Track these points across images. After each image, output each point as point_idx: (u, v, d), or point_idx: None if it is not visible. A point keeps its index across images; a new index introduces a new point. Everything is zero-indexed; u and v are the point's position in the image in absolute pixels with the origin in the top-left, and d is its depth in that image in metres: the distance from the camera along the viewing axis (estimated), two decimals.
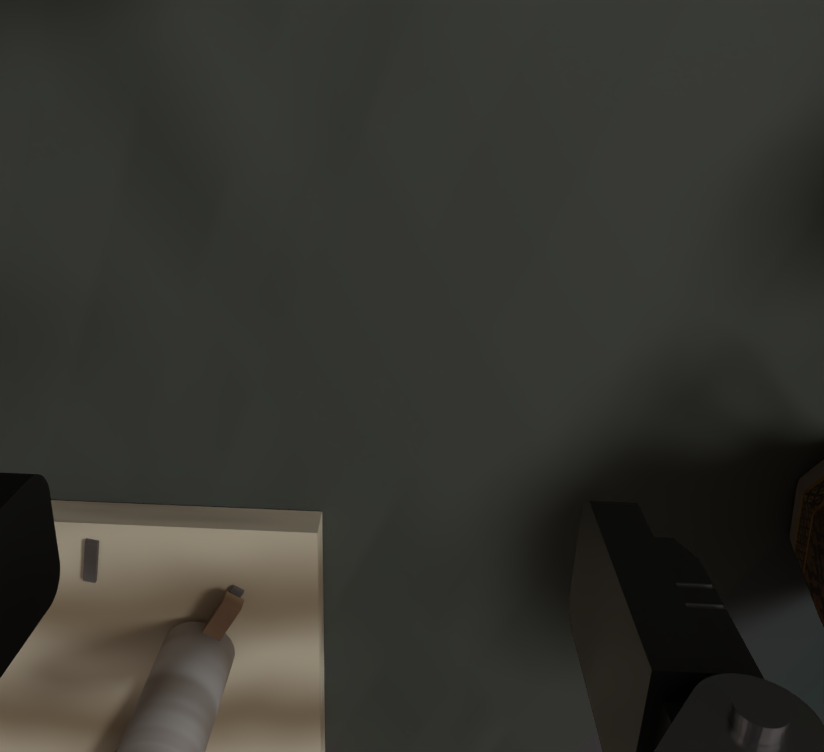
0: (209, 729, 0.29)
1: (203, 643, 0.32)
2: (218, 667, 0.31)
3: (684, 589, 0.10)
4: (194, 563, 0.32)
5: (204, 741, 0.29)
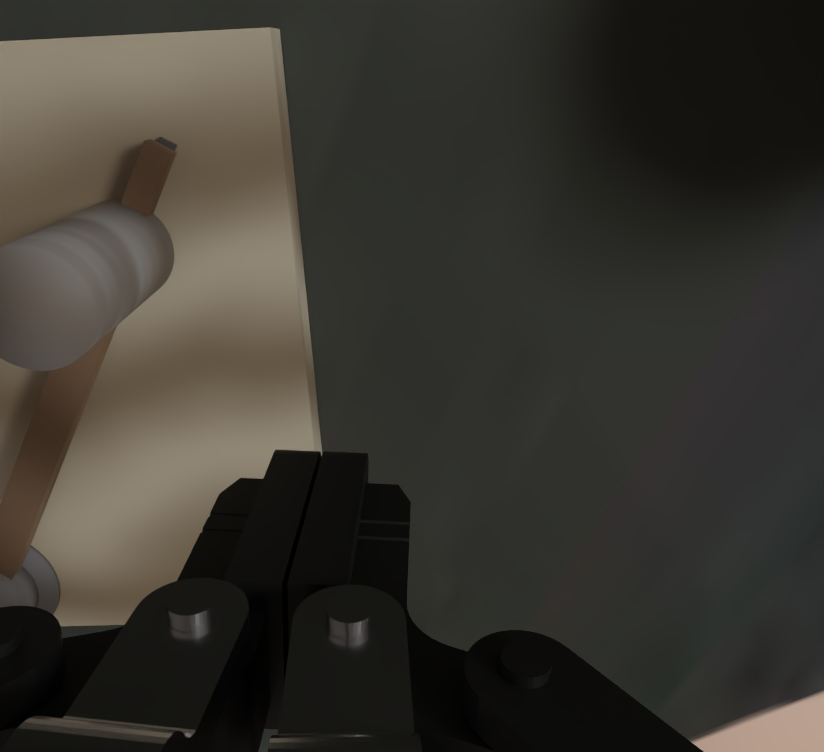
0: (123, 281, 0.20)
1: (121, 209, 0.22)
2: (143, 234, 0.22)
3: (381, 525, 0.11)
4: (101, 102, 0.22)
5: (112, 283, 0.19)
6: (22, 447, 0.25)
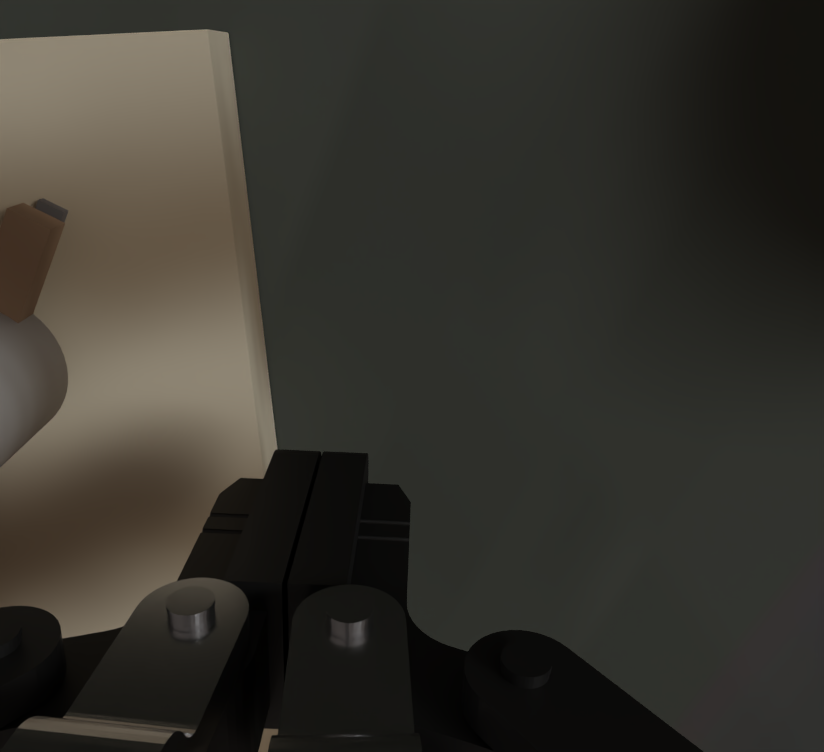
0: None
1: None
2: (3, 357, 0.14)
3: (381, 525, 0.11)
4: None
5: None
6: None
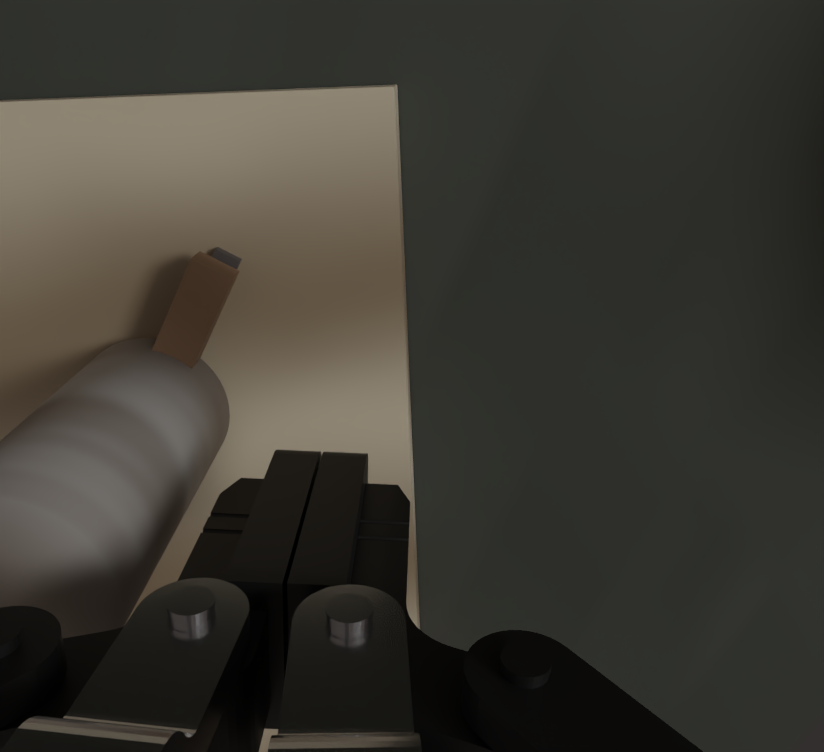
0: (164, 511, 0.12)
1: (154, 362, 0.14)
2: (189, 406, 0.14)
3: (380, 525, 0.11)
4: (128, 196, 0.15)
5: (148, 528, 0.11)
6: None
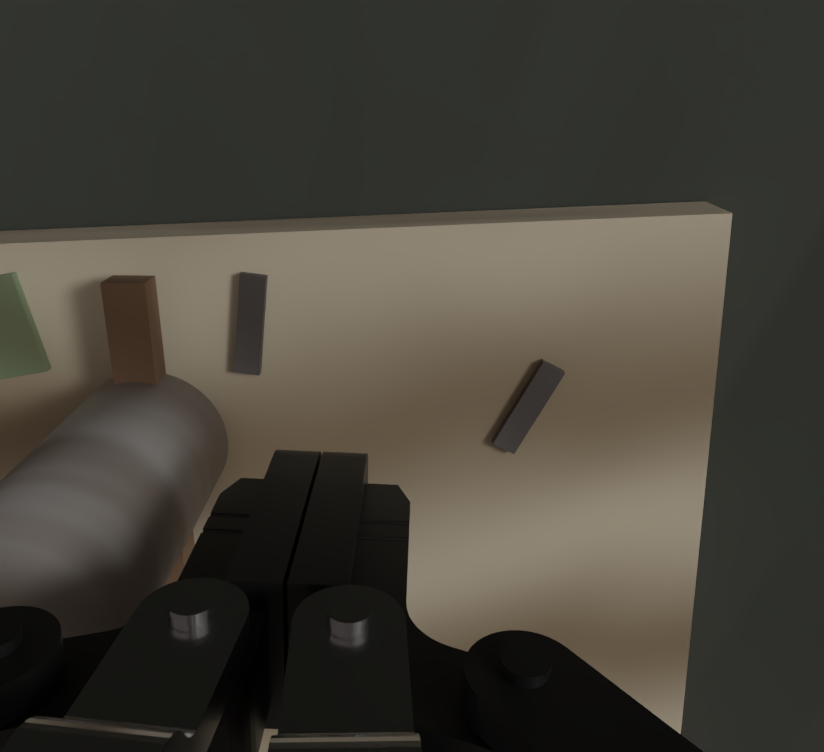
0: (143, 510, 0.12)
1: (114, 392, 0.14)
2: (156, 415, 0.14)
3: (380, 525, 0.11)
4: (462, 313, 0.15)
5: (122, 527, 0.11)
6: None
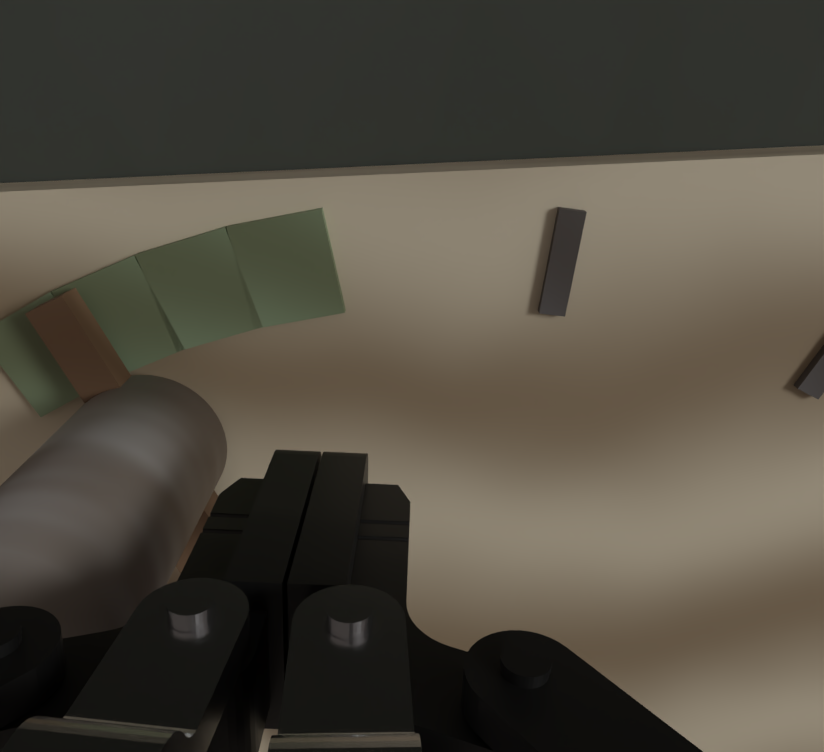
0: (106, 489, 0.12)
1: (81, 408, 0.14)
2: (117, 409, 0.14)
3: (380, 525, 0.11)
4: (782, 250, 0.15)
5: (79, 507, 0.11)
6: None
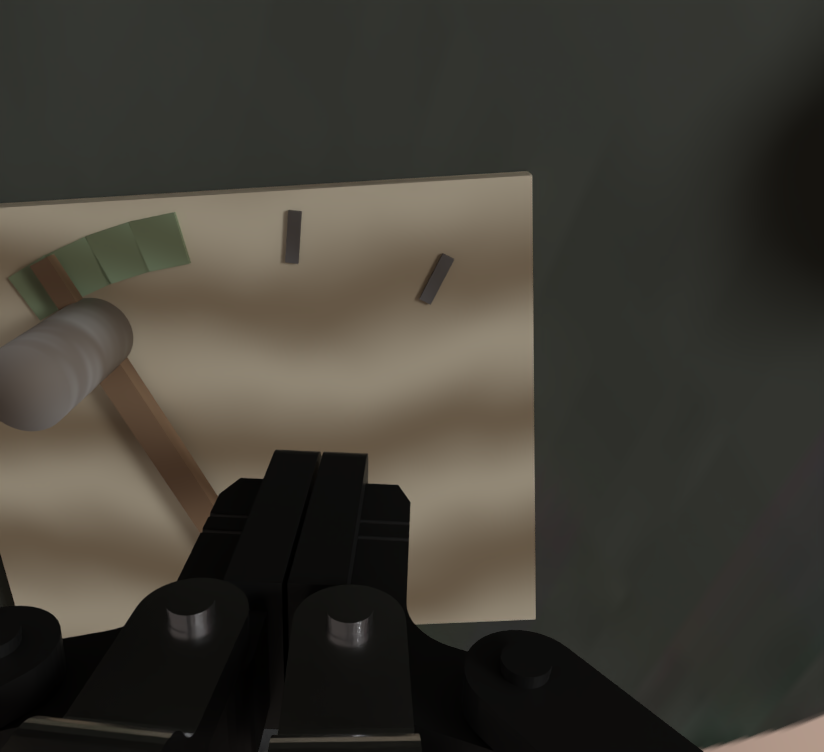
0: (65, 334, 0.27)
1: None
2: (73, 309, 0.29)
3: (380, 525, 0.11)
4: (401, 229, 0.30)
5: (53, 338, 0.26)
6: (175, 495, 0.33)
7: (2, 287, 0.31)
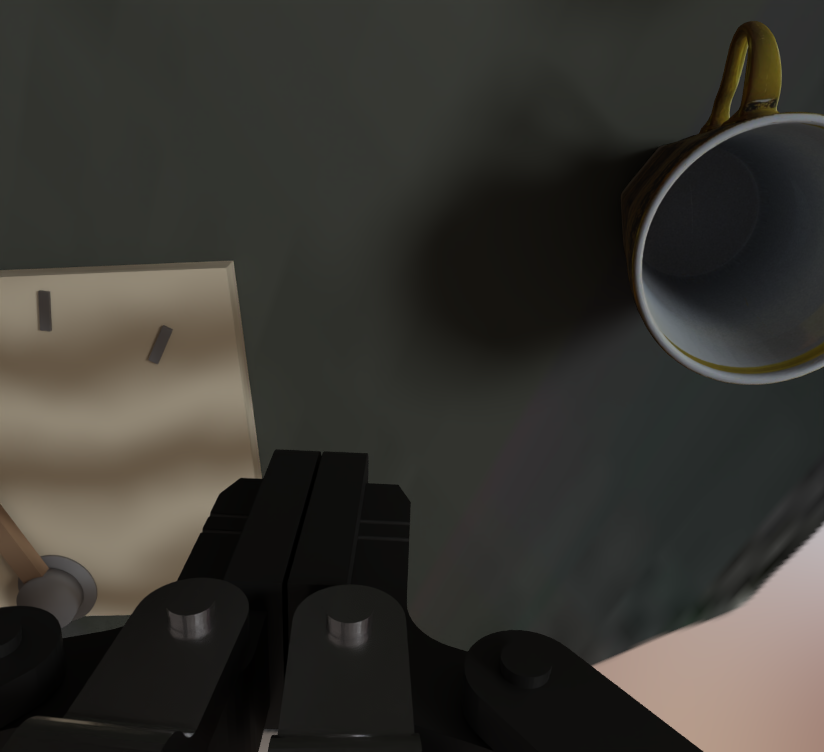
0: None
1: None
2: None
3: (381, 525, 0.11)
4: (129, 306, 0.38)
5: None
6: None
7: None
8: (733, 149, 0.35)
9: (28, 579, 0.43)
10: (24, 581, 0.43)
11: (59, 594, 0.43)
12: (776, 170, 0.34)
